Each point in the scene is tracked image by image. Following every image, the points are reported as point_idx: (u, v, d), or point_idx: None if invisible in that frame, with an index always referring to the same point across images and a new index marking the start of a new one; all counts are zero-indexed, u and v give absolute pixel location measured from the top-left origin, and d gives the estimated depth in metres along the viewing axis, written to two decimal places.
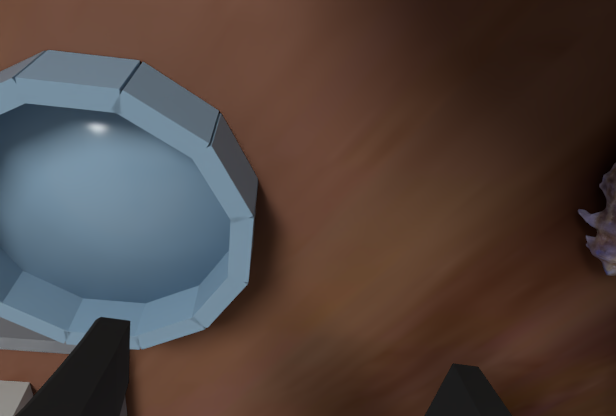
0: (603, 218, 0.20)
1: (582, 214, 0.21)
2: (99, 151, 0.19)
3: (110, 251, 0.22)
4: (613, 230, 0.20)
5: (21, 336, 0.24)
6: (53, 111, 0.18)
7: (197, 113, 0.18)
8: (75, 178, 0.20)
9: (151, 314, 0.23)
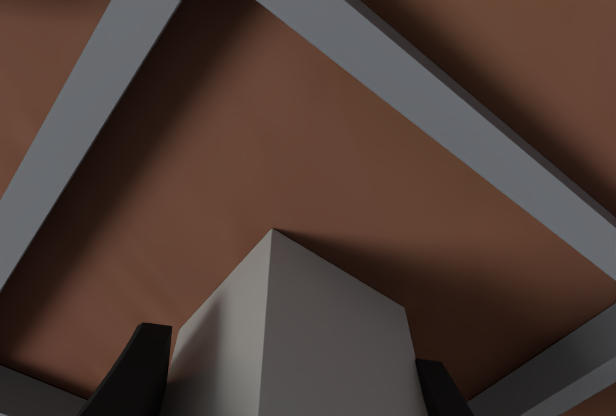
0: None
1: None
2: None
3: None
4: None
5: (62, 90, 0.09)
6: None
7: None
8: None
9: None
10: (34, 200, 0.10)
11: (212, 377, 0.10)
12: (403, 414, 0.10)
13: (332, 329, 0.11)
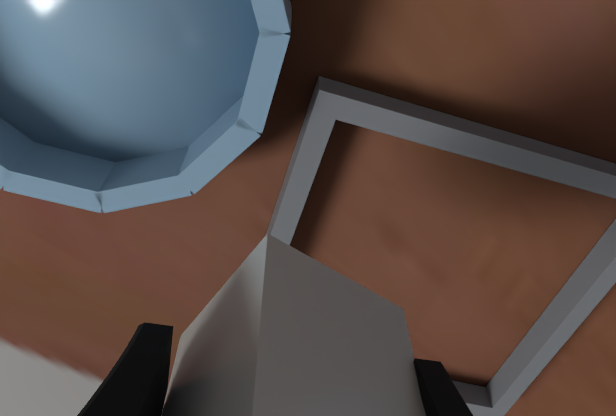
0: None
1: None
2: None
3: (161, 28, 0.16)
4: None
5: (284, 191, 0.19)
6: None
7: None
8: (41, 26, 0.16)
9: None
10: None
11: (210, 384, 0.10)
12: None
13: (329, 332, 0.11)
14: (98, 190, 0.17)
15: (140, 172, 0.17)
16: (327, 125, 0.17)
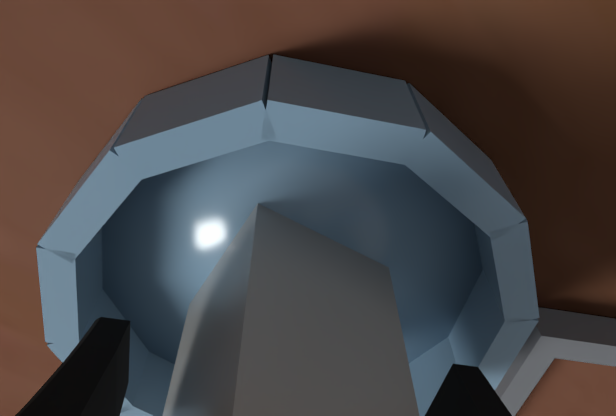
0: None
1: None
2: (200, 264, 0.14)
3: None
4: None
5: None
6: (145, 295, 0.15)
7: (112, 140, 0.12)
8: None
9: (489, 276, 0.13)
10: None
11: (210, 334, 0.12)
12: (381, 354, 0.11)
13: (314, 285, 0.12)
14: None
15: None
16: (544, 363, 0.16)
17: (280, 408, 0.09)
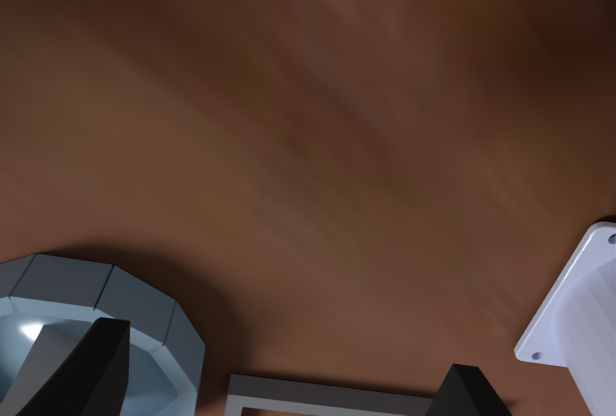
0: None
1: None
2: (19, 354, 0.25)
3: None
4: None
5: None
6: None
7: None
8: None
9: None
10: None
11: None
12: None
13: None
14: None
15: None
16: (238, 409, 0.26)
17: None
